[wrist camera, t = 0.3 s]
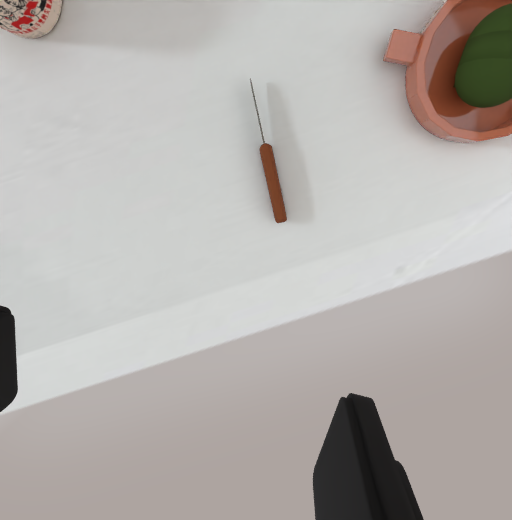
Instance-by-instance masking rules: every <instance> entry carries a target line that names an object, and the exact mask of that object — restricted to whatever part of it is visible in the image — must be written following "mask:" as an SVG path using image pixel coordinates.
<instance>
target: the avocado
mask: <svg viewBox="0 0 512 520" xmlns="http://www.w3.org/2000/svg"><path fill="white" fill-rule="evenodd" d="M453 87H455V88H456V92H457V94H458V96H459V97H460V98H461V99H462V101H464V102H465V103H467V104H468V105H470V106H474V107H478V108H487V107H494V106H497V105H500V104H503V103H505V102H507V101H509V100H510V99H512V3H510V4H507V5H504V6H502V7H500V8H498V9H496V10H494V11H493V12H491V13H490V14H488V15H487V16H486V17H485V18H484V19H483V20H481V22H480V23H479V24H478V25H477V26H476V27H475V28H474V30H473V31H472V33H471V34H470V36H469V38H468V40H467V42H466V45H465V47H464V50H463V53H462V56H461V59H460V61H459V64H458V67H457V70H456V74H455V84H454V86H453Z"/></svg>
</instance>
